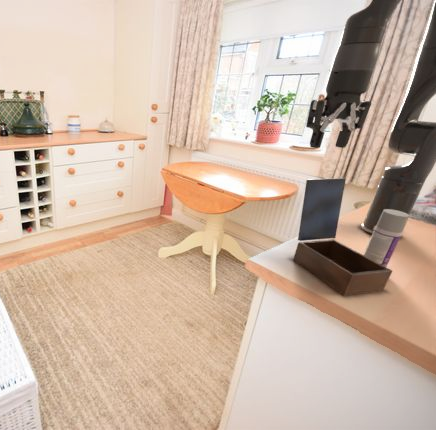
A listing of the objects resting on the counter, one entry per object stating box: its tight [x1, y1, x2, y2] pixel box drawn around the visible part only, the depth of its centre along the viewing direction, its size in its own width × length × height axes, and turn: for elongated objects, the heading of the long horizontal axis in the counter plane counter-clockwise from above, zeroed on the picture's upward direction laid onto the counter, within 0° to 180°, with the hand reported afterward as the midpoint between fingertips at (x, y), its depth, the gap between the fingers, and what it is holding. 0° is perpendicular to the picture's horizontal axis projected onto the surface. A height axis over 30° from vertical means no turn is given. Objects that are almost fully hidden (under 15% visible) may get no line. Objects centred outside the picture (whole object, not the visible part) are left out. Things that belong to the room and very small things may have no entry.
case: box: [292, 238, 393, 297], centre depth 68 cm, size 14×10×5 cm
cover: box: [297, 177, 347, 242], centre depth 72 cm, size 15×10×1 cm
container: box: [363, 209, 410, 268], centre depth 69 cm, size 5×5×15 cm
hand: (327, 147), depth 69 cm, fingers open, 6 cm apart
